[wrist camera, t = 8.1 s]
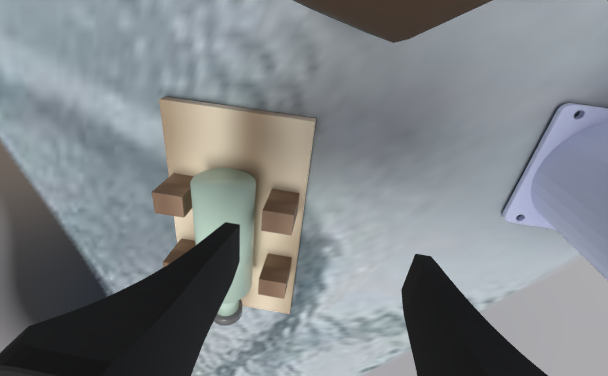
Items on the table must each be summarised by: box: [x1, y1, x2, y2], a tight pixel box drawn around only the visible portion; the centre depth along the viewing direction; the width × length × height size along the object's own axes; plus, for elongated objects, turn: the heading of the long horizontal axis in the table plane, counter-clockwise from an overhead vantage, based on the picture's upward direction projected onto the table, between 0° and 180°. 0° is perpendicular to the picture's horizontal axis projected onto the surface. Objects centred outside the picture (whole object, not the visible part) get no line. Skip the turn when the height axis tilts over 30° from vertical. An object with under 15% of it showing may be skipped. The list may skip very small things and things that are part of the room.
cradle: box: [152, 97, 316, 314], centre depth 22 cm, size 10×18×4 cm, turn 174°
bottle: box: [190, 168, 256, 325], centre depth 22 cm, size 4×12×4 cm, turn 174°
